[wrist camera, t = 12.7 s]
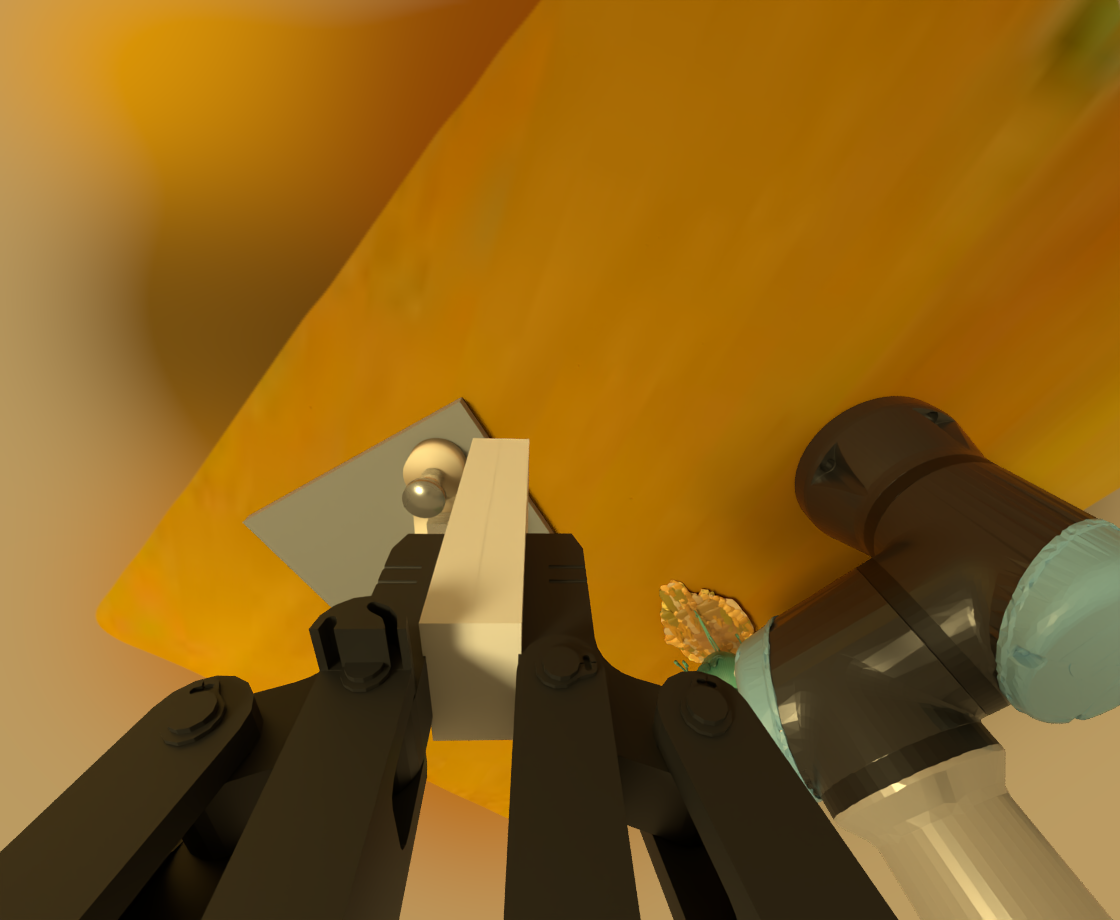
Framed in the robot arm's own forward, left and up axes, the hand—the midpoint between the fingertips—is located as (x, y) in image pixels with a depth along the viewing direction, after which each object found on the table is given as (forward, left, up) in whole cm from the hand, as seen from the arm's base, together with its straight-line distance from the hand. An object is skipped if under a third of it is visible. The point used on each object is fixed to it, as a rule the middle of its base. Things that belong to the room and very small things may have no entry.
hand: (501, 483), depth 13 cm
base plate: (-15, +22, -29) cm, 39 cm away
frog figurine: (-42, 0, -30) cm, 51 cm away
